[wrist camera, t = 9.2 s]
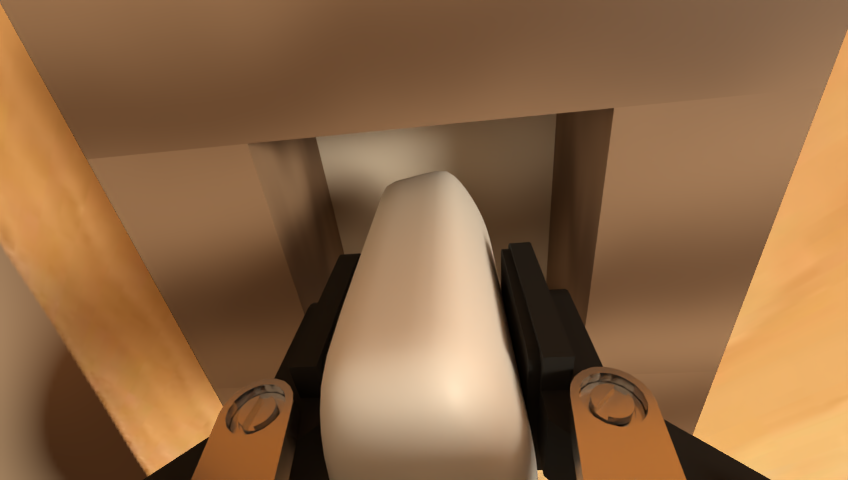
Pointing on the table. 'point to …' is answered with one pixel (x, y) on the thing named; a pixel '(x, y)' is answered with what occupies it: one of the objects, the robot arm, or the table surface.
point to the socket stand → (445, 151)
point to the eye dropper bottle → (425, 350)
